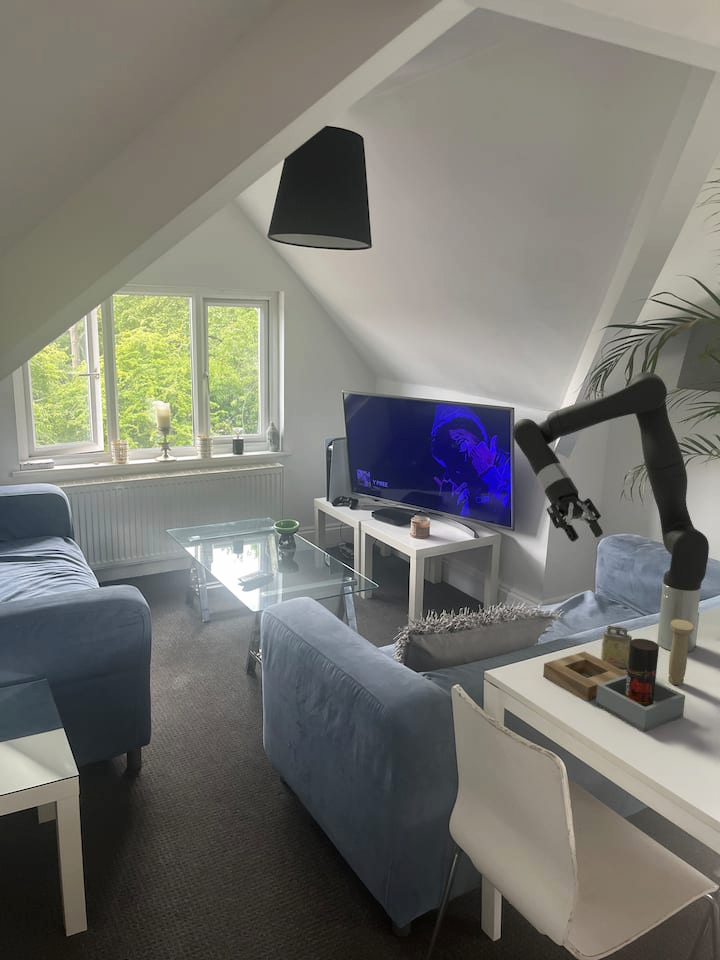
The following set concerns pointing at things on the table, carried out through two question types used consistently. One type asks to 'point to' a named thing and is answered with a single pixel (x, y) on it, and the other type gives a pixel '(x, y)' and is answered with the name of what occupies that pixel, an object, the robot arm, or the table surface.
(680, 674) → the handle
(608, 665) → the holder
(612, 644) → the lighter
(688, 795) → the table surface
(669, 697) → the bin
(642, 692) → the deodorant
